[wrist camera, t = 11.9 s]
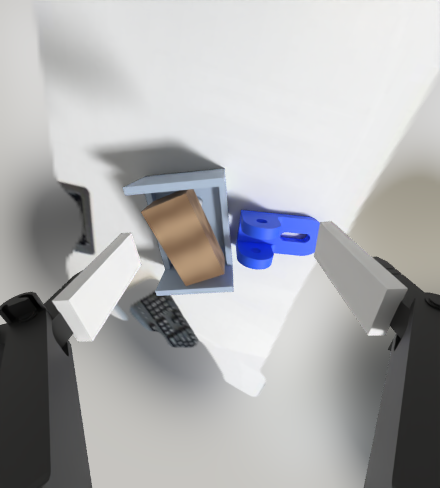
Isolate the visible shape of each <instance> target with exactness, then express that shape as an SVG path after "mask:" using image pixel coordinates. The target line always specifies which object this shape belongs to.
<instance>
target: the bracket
mask: <svg viewBox="0 0 440 488" xmlns="http://www.w3.org/2000/svg"><path fill="white" fill-rule="evenodd" d="M319 225H320V223H319V222H318V221H317V220H316V219H314V218H312V217H307V216H297V215H288V214H278V213H268V212H258V211H249V210H241V215H240V222H239V228H238V235H237V242H236V252H237V260H238V261H239V262H240V263H241V264H242V265H244V266H246V267H248V268H252V269H266V268H268V267H269V266H270V265H271V263H272V259H273V255H274V253H279V254H289V255H299V256H305V255H309V254H312V253H314V252H315V248H316V242H317V237H318V231H319ZM284 232H291V233H301V234H307V236H306V237H305V238H303V239H296V238H287V237H280V236H281V234H282V233H284Z"/></svg>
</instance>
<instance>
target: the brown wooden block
mask: <svg viewBox="0 0 440 488" xmlns="http://www.w3.org/2000/svg"><path fill="white" fill-rule="evenodd" d="M141 213H142V215H143V216H144V218H145V220H146V221H147V223H148V225H149V226H150V228H151V230H152V231H153V233H154V235H155V236H156V238H157V240H158V241H159V243H160V245H161V246H162V248H163V249H164V251H165V253H166V254H167V256H168V258H169V259H170V261H171V263H172V264H173V266H174V268H175V269H176V271H177V273H178V274H179V276H180V277H181V279H182V281H183V282H184V284H185V286H188V285H191V284H194V283H198V282H201V281H204V280H207V279H210V278H214V277H217V276H220V275H223V274H224V273H225V256H224V254H223V252H222V250H221V248H220V246H219V243H218V241H217V239H216V237H215V235H214V233H213V230H212V228H211V226H210V224H209V222H208V219H207V217H206V215H205V213H204V211H203V209H202V206H201V204H200V202H199V200H198V198H197V196H196V193H195V191H194V189H189V190H179V191H177V192H174V193H172V194H170V195H167V196H165V197H162V198H160V199H158V200H155V201H153V202H152V203H151V204H150V205H148V206H147V207H146V208H145V209H144V210H143V211H142V212H141Z"/></svg>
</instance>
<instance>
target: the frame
mask: <svg viewBox="0 0 440 488" xmlns="http://www.w3.org/2000/svg"><path fill="white" fill-rule="evenodd" d="M189 189H194V191H195V193H196V196H197V198H198V200H199V202H200V204H201V206H202V209H203V211H204V213H205V215H206V217H207V219H208V222H209V224H210V226H211V228H212V230H213V233H214V235H215V237H216V239H217V241H218V243H219V246H220V248H221V250H222V252H223V254H224V256H225V273H224V274H223V275H220V276H217V277H214V278H210V279H207V280H204V281H201V282H198V283H194V284H191V285H188V286H185V284H184V282H183V281H182V279H181V277H180V276H179V274H178V273H177V271H176V269H175V268H174V266H173V264H172V263H171V261H170V259H169V258H168V256H167V254H166V253H165V251H164V249H163V248H162V246H161V245H160V243H159V241H158V240H157V241H158V245H159V248H160V252H161V256H162V260H163V263H164V267H165V271H164V274H163V276H162V278H161V280H160V282H159V285H158V287H157V289H156V291H155V292H156V295H157V296H162V295H180V294H198V293H216V292H234V288H233V264H232V251H231V240H230V228H229V216H228V204H227V192H226V180H225V169H224V168H222V169H212V170H202V171H192V172H182V173H172V174H163V175H153V176H145V177H143V178H141V179H139V180H137V181H135V182H133V183H131V184H129V185H127V186H125V187H123V190H124V194H125V195H136V194H145V197H146V200H147V204H148V205H150V204H151V203H152V202H153V201H155V200H158V199H160V198H162V197H165V196H167V195H170V194H172V193H174V192H177V191H179V190H189Z"/></svg>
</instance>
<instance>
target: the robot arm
mask: <svg viewBox="0 0 440 488" xmlns="http://www.w3.org/2000/svg"><path fill="white" fill-rule="evenodd" d="M314 257H315V259H316V260H317V262H318V263H319V264H320V266H321V267H322V269H323V270H324V272H325V273H326V275H327V276H328V278H329V279H330V280H331V282H332V284H333V285H334V287H335V288H336V289H337V291H338V292H339V294H340V295H341V297H342V298H343V300H344V301H345V303H346V304H347V306H348V307H349V309H350V310H351V311H352V313H353V314H354V316H355V317H356V319H357V320H358V322H359V323H360V325H361V326H362V328H363V329H364V330H365V332H366V334H367V335H386V333H387V331H388V329H389V327H390V326H391V327H392V329H393V330H394V331H395V332H396V335H395V337H394V339H393V341H392V343H391V345H390V346H389V348H388V350H390V351H391V354H390V359H389V364H388V369H387V374H386V379H385V384H384V389H383V394H382V399H381V404H380V409H379V414H378V419H377V424H376V429H375V434H374V439H373V444H372V449H371V454H370V460H369V464H368V469H367V474H366V479H365V484H364V488H440V295H437V294H433V293H425V292H423V291H422V290H421V289H420V288H418V287H417V286H416V285H415V284H413V283H412V282H411V281H410V280H409V279H408V278H406V277H405V276H404V275H401V273H400V272H399V271H398V270H396V269H395V268H394V267H393V266H392V265H391V264H389V263H388V262H387V261H385V260H383V259H380V258H379V257H372V256H370V255H369V254H368V253H367V252H366V251H365V250H364V249H363V248H361V247H360V246H359V245H358V244H357V243H355V241H353V240H352V239H351V238H350V237H349V236H348V235H347V234H345V233H344V232H343V231H342V230H341V229H340V228H339V227H338V226H336V225H335V224H334V223H333V222H332V221H331V222H320V225H319V231H318V237H317V242H316V248H315V254H314ZM141 265H142V264H141V261H140V258H139V254H138V251H137V248H136V245H135V242H134V239H133V236H132V233H121V234H120V235H119V236H118V237H117V238H116V239H115V240H114V241H113V242H112V243H111V244H110V245H109V246H108V247H107V248H106V249H105V250H104V251H103V252H102V253H101V254H100V255H99V256H98V257H96V258H95V259H94V260H93V261H92V262H91V263H90V264H89V265H88V266H87V267H86V268H85V269H84V270H82V271H81V272H79V273H77V274H76V275H74V276H73V277H72V278H71V279H70V280H69V281H68V282H67V283H66V284H64V286H62V288H61V289H59V290H58V291H57V292H56V293H55V294H54V295H53V296H52V297H51V298H50V299H49V300H48V301H47V302H46V303H44V304H43V303H42V301H41V300H40V298H39V297H38V296H37V294H36V293H33V292H28V293H23V294H20V295H18V296H15V297H13V298H11V299H9V300H8V301H6V302H5V303H3V304H2V305H1V306H0V315H1V316H2V318H3V319H4V320H5V321H6V322H7V323H6V324H2V325H0V488H92V483H91V477H90V470H89V463H88V456H87V450H86V443H85V436H84V429H83V423H82V416H81V409H80V403H79V396H78V389H77V382H76V375H75V368H74V362H73V355H72V348H71V344H70V342H69V341H68V339H69V338H70V337H71V336H72V334H74V336H75V337H76V339H77V340H78V341H93V340H94V338H95V337H96V335H97V334H98V332H99V331H100V329H101V327H102V326H103V324H104V322H105V321H106V320H107V318H108V316H109V315H110V313H111V312H112V310H113V309H114V307H115V305H116V304H117V302H118V301H119V299H120V298H121V296H122V295H123V293H124V291H125V290H126V288H127V287H128V285H129V284H130V282H131V280H132V279H133V277H134V276H135V274H136V273H137V271H138V269H139V268H140V266H141Z"/></svg>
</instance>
